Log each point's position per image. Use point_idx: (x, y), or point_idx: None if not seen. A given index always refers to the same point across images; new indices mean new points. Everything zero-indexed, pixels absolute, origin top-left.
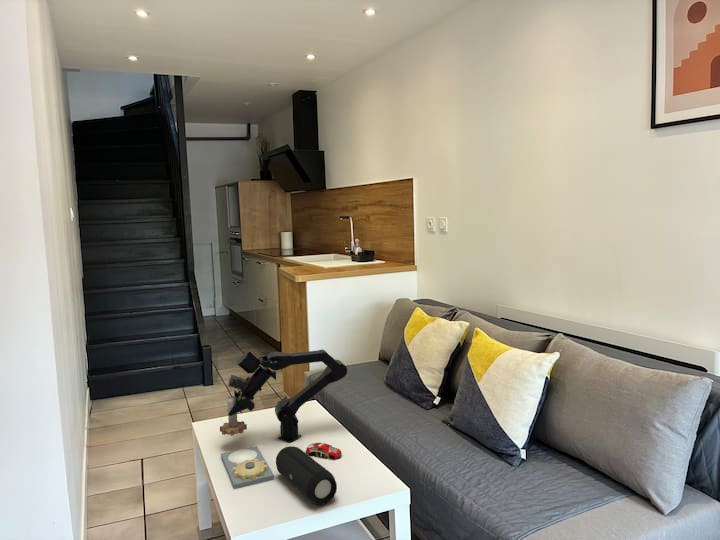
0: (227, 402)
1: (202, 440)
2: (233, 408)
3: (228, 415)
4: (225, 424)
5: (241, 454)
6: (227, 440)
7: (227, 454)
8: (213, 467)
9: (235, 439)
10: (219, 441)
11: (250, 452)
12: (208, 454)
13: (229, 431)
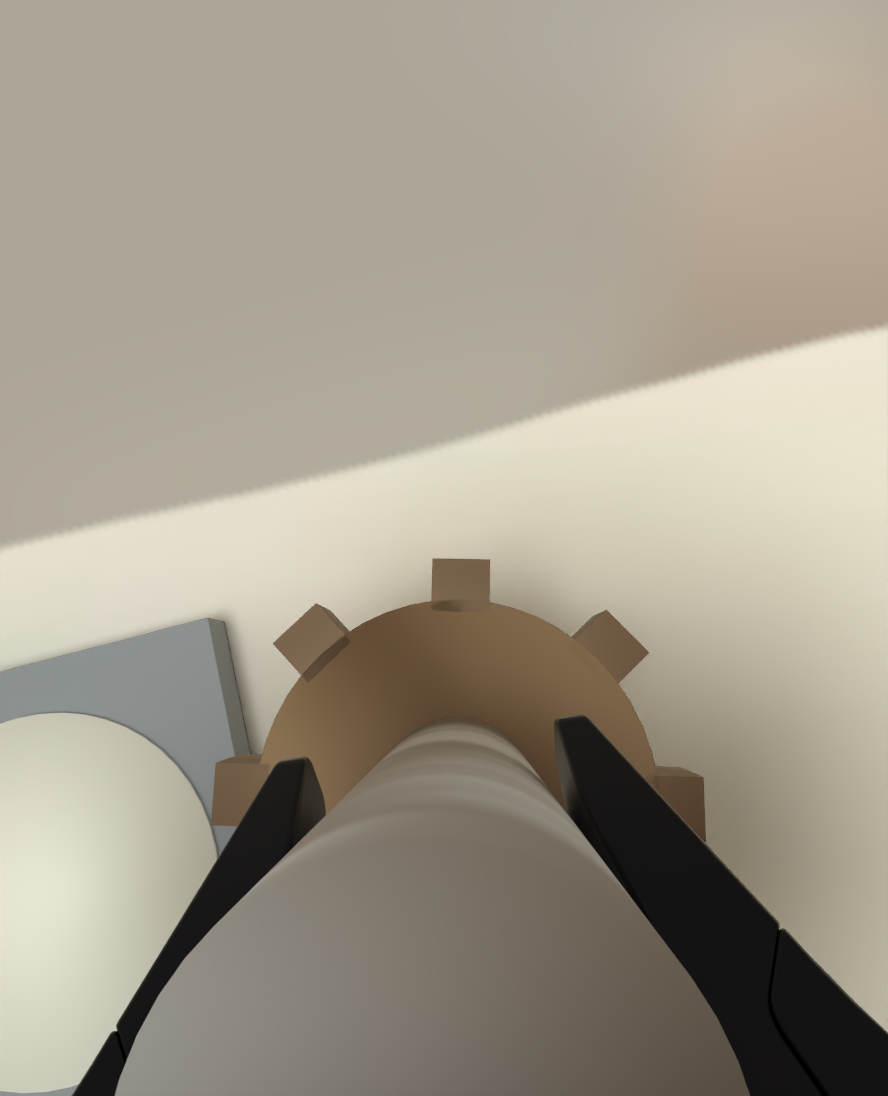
0: (364, 803)
1: (711, 373)
2: (128, 1028)
3: (395, 750)
4: (552, 650)
5: (88, 877)
6: (660, 658)
7: (156, 698)
8: (17, 562)
9: (672, 756)
10: (649, 565)
11: (107, 998)
12: (335, 478)
13: (272, 740)
